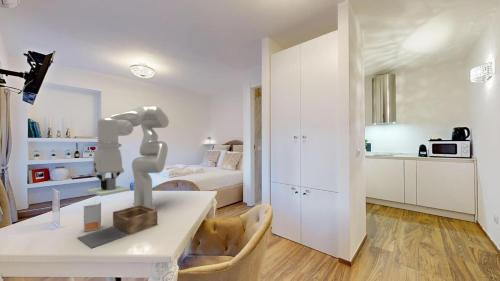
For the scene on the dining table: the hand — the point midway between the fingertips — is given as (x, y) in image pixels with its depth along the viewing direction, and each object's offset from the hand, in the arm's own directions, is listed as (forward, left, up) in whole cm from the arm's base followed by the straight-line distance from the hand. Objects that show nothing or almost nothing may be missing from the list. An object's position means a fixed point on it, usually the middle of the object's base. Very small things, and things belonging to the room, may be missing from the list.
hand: (108, 188), depth 91 cm
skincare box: (-13, -1, -21) cm, 25 cm away
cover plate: (0, 0, -1) cm, 1 cm away
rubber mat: (0, -2, -21) cm, 21 cm away
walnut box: (0, +12, -21) cm, 24 cm away
